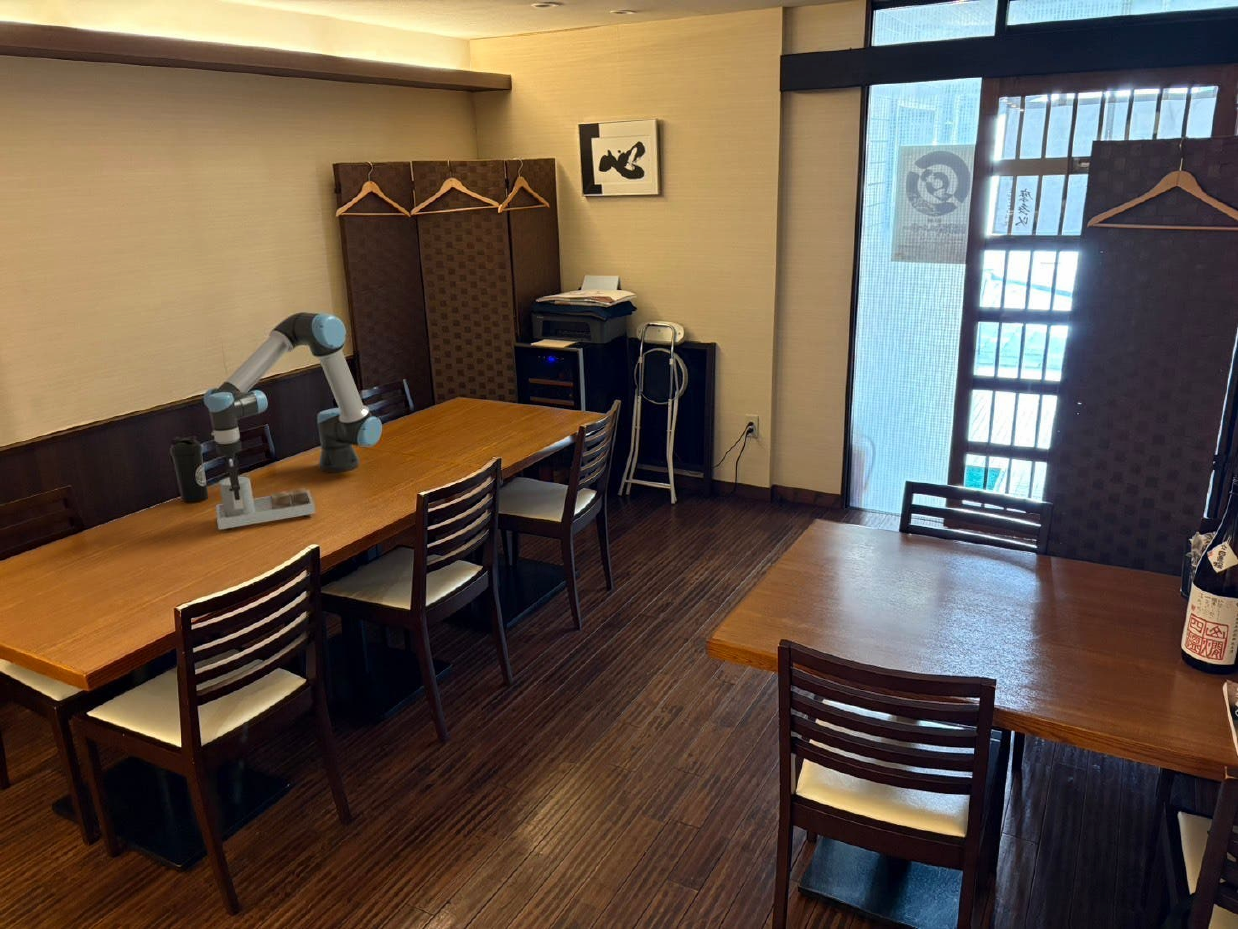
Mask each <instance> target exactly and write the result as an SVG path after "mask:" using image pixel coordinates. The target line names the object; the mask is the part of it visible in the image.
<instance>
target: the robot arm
mask: <svg viewBox="0 0 1238 929" xmlns="http://www.w3.org/2000/svg"><path fill="white" fill-rule="evenodd" d="M268 336H269V337H268V338H267V339H266V340H265V341H264V342H262V344H261V345H260V346H259V347H258V348H257V349H256V350H255V351H254V352H252V354H251V355H250V356H249V357H248V358H247V359H246V360H245V361H244V362H243V363H242V364H241V365H240V366H239V367H238V368H237V369H236V370H235V371H234V372H233V373H232V374H231V375H230V376H229V377H228V378H227V379H226V380H225V381H224V382H223V383H222V384H220V385H219V386H218V387H213V388H212V387H211V388H209V389H208V390H206V391H205V393H204V395H203V402H204V405H205V406H206V408H208V412H209V416H210V421H211V426H212V432H211V436H214V437H213V438H214V441H215V450H216V454H217V455H220V456H224V457H223V461H224V466H225V468H226V471H227V473H228V475H229V476H228V477H230V482H231V489H229V491H232V497H233V502H234V508H235V509H241V508H244V507H243V501H242V495H241V489H240V486H239V480H238V476H241V472H238V471H239V465H238V464H239V460H238V456H237V455H235V454H238V453H240V452H241V451H242V443H241V440H240V438H241V435H240V430H239V424H238V420H240V419H244V418H248V417H250V416H254V415H259V414H261V413H263V412H265V411H266V410H267V408H268V404H269V403H268V399H267V396H266V394H265V392H263V391H262V390H259V389H257V390H251V389H252V388H253V387H254V386H255V385H256V384H257V382H259V381H260V380H261V379H262V378H263V377H264V376H265V374H266V373H268V372H269V371H270V369H272V367H273V366H274V365H275V364H276V363H277V362H278V361H279V360H280V359H281V358H282V357H283V356H284V355H285V354H286V353H292V351H293V350H294V349H296V348H298V347H300V346H307V347H309V349H310V351H311V355H312V356H313V357H314V358H318V360H319V363H320V365H321V367H322V369H323V372H324V375H325V377H326V379H327V382H328V384H329V387H330V389H331V392H332V394H333V397H334V399H335V402H336V404H337V406H338V407H334V408H329V409H326V410H322V411H320V412H318V413H317V416H316V417H317V423H316V424H317V428H318V436H319V441H320V449H321V451H320V456H319V460H318V467H319V470H320V471H321V472H324V473H342V472H349V471H351V470H354V469H356V468H357V467H359V466H360V458H359V456H358V455H357V453H356V450H355V448H354V446H359V447H367V448H371V447H373V446H375V445H376V444H377V443H378V441H379V440H380V438H381V435H382V432H383V425H382V421H381V420H380V419H379V418H378V417H376V416H373V415H372V412H371V411H370V408H369V406H366V405H364V403H363V402H362V401H363V400H362V398H361V396H360V394H359V391H358V389H357V385H356V383H355V380H354V377H353V375H352V373H351V371H350V368H349V366H348V363H347V361H346V357H345V355H344V352H343V349H344V348H345V342H346V336H347V331H346V327H345V324H344V323H343V321H342V320H341V319H340V318H339V317H337V316H335V315H334V314H333V315H332V314H329V313H325V312H324V313H315V312H314V313H313V312H297V313H294V314H292V315H289V316H288V317H286V318H285V319H283V320H282V321H281V322H280V323H278V324H277V325H276V326H275V327H274V328H273V329H272V330H270V331H269V334H268ZM233 486H235V487H233Z"/></svg>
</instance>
